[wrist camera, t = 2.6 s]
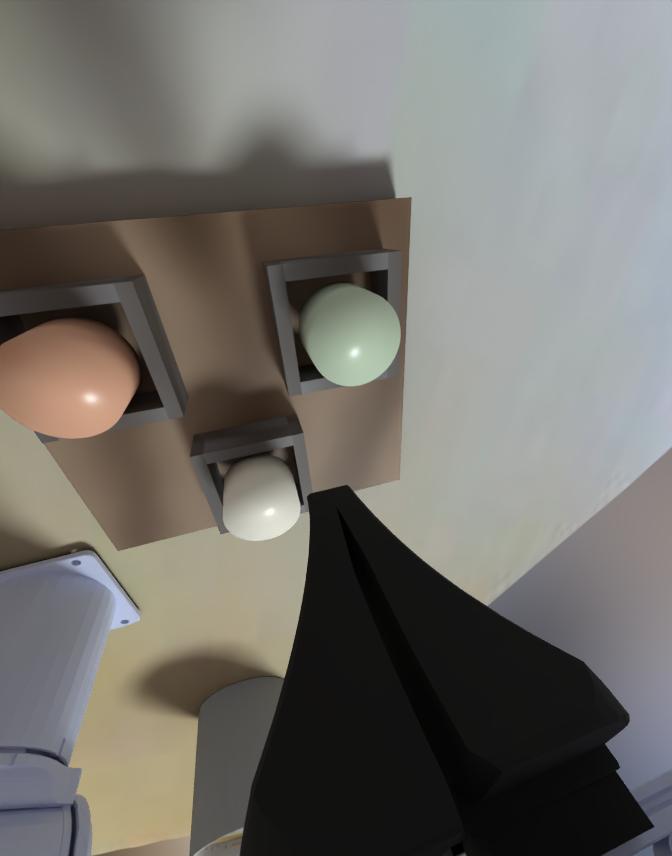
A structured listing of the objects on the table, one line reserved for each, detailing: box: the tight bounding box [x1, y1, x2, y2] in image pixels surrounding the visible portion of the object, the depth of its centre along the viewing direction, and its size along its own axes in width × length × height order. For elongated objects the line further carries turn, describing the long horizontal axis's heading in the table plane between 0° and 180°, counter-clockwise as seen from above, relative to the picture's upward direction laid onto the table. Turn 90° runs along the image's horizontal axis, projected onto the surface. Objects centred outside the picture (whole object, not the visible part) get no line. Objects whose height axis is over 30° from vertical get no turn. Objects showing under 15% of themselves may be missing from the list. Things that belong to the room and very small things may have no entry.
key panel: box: [0, 197, 411, 551], centre depth 16 cm, size 18×16×4 cm
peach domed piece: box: [0, 316, 142, 439], centre depth 11 cm, size 4×4×2 cm
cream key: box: [223, 454, 301, 541], centre depth 16 cm, size 4×4×2 cm
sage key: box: [299, 282, 401, 386], centre depth 13 cm, size 4×4×2 cm
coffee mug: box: [190, 677, 284, 856], centre depth 33 cm, size 13×10×10 cm
